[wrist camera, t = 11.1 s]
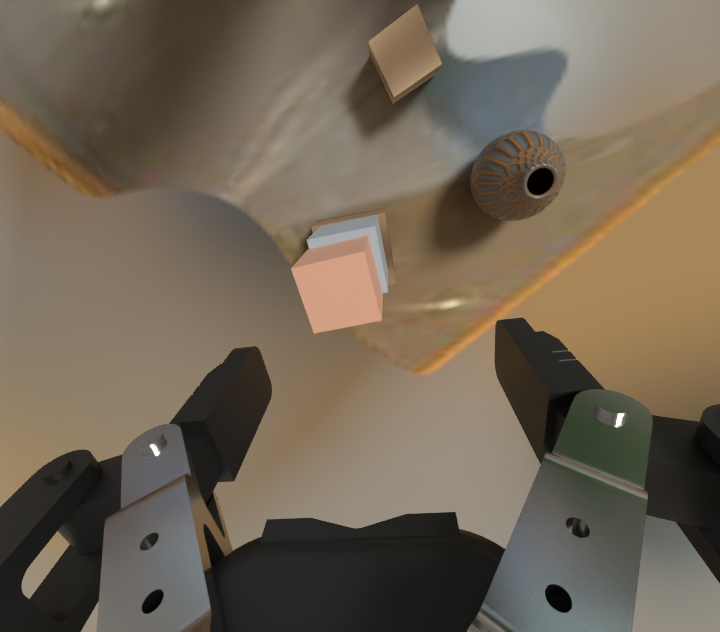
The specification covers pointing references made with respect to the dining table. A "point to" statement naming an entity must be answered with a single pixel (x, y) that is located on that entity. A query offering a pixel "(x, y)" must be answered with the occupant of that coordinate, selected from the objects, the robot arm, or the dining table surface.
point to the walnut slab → (383, 229)
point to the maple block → (404, 54)
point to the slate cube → (354, 230)
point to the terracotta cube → (339, 285)
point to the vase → (517, 175)
